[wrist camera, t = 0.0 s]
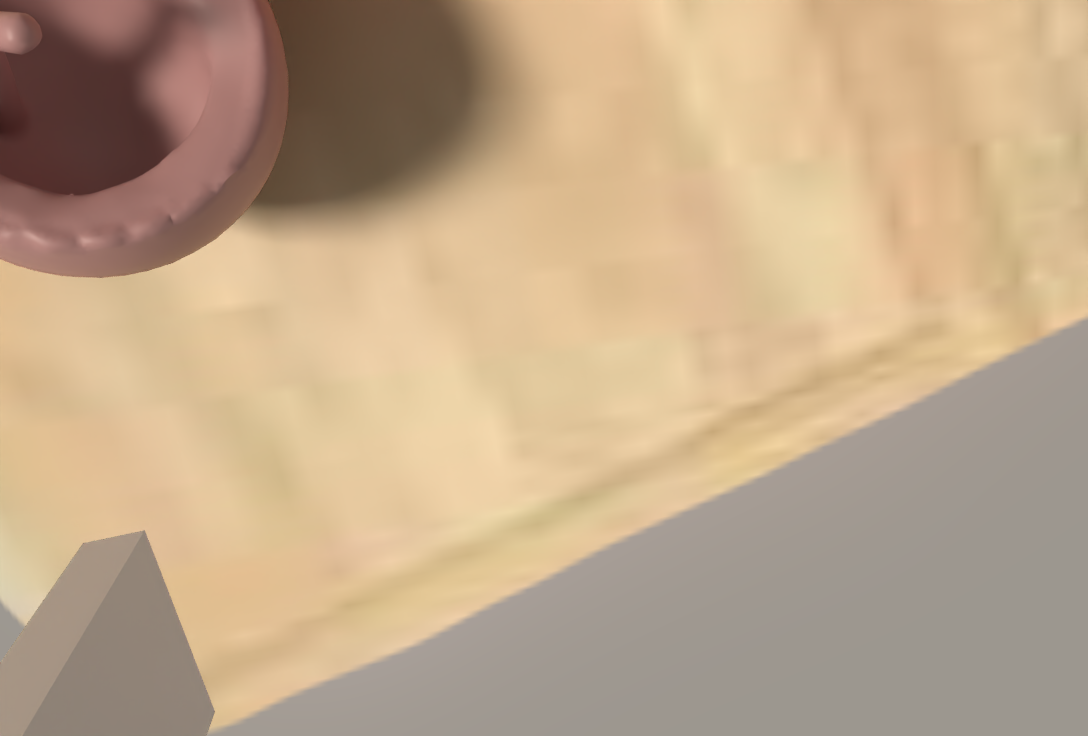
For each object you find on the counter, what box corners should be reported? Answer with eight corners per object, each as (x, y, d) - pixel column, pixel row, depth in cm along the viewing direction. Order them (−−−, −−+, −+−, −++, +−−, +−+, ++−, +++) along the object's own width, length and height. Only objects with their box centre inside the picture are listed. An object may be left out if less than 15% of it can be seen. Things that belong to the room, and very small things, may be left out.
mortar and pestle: (336, -72, 36) (280, -96, 25) (289, 257, 40) (222, 359, 29) (-27, -160, 34) (-254, -226, 23) (-39, 193, 38) (-238, 275, 27)
